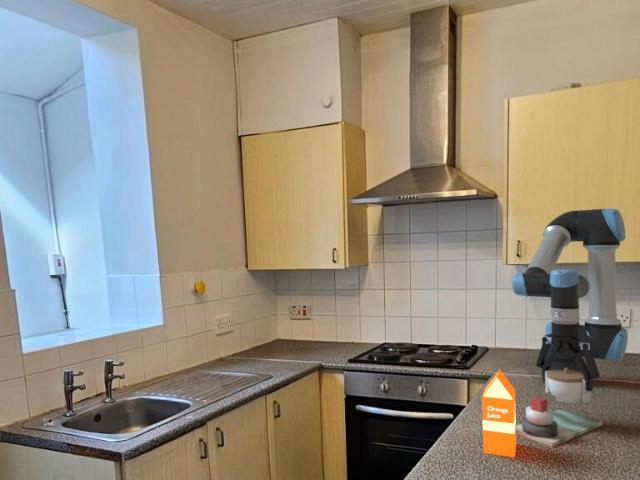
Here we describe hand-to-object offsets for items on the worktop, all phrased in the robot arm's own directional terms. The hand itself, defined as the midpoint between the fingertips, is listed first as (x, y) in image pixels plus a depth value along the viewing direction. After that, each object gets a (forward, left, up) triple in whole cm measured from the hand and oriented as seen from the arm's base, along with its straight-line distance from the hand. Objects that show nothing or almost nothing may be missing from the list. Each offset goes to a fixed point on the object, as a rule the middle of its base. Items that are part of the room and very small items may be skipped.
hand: (567, 396), depth 144 cm
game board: (+6, 0, -8) cm, 10 cm away
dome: (+14, 0, -4) cm, 14 cm away
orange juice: (+30, -1, -8) cm, 31 cm away
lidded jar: (0, 0, -1) cm, 1 cm away
